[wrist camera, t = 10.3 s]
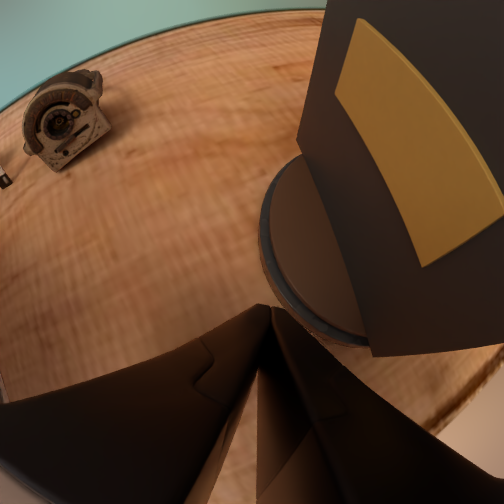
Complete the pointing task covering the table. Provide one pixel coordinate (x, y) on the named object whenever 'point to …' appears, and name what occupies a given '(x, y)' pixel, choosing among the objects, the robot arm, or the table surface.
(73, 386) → the robot arm
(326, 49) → the dark upright block
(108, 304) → the table surface
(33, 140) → the mechanical counter
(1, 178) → the cuneiform tablet
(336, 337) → the turntable base
